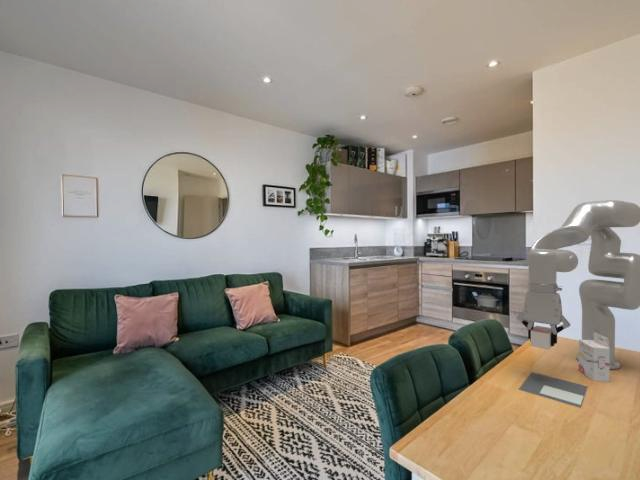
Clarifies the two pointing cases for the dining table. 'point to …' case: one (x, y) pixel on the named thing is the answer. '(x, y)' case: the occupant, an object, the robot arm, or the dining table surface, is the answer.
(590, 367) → the ink cartridge box
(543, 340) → the card deck case
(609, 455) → the dining table surface
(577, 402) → the mat
